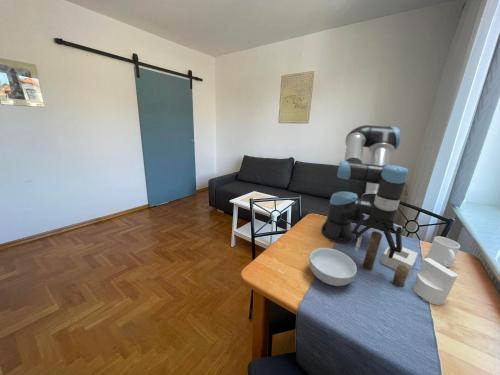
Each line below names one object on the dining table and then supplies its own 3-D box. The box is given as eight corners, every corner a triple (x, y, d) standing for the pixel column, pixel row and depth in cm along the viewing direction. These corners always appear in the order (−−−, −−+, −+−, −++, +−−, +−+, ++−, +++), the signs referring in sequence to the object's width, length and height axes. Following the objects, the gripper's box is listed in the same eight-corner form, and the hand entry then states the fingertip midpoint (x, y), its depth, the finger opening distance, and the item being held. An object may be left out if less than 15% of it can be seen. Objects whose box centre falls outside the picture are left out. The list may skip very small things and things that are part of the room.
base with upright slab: (451, 301, 70) (465, 273, 66) (432, 307, 67) (446, 278, 63) (423, 281, 78) (434, 256, 74) (406, 286, 75) (416, 260, 71)
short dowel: (391, 283, 77) (396, 268, 74) (393, 278, 79) (398, 263, 77) (402, 288, 74) (407, 273, 72) (404, 283, 77) (409, 268, 74)
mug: (460, 276, 82) (470, 255, 78) (435, 270, 84) (444, 249, 81) (445, 258, 92) (453, 238, 89) (423, 253, 95) (430, 234, 91)
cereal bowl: (330, 300, 68) (334, 284, 66) (298, 268, 82) (300, 254, 80) (362, 283, 76) (367, 268, 73) (328, 257, 90) (331, 243, 87)
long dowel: (361, 266, 85) (370, 233, 79) (364, 262, 87) (373, 230, 82) (370, 270, 82) (380, 237, 77) (373, 267, 85) (383, 234, 79)
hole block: (380, 262, 87) (383, 253, 86) (388, 251, 95) (391, 242, 93) (408, 276, 81) (412, 265, 79) (414, 262, 88) (418, 253, 87)
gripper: (349, 200, 81) (339, 246, 88) (421, 222, 65) (401, 276, 73) (356, 195, 86) (346, 240, 93) (424, 215, 70) (405, 266, 78)
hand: (370, 256), depth 83 cm, fingers open, 10 cm apart
